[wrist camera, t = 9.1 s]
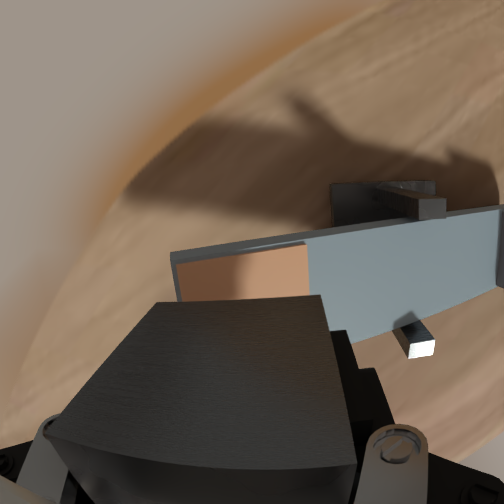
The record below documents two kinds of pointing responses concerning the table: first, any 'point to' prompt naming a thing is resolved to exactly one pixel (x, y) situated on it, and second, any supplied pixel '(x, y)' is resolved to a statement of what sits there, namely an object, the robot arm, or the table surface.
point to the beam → (357, 268)
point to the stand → (385, 208)
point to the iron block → (214, 409)
